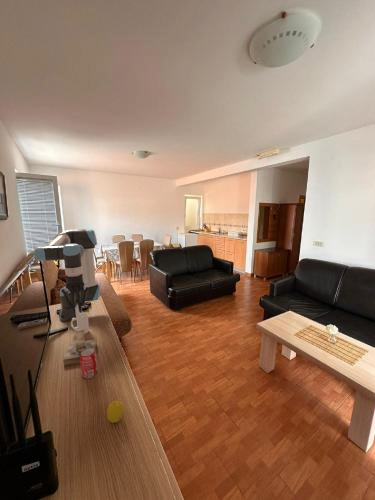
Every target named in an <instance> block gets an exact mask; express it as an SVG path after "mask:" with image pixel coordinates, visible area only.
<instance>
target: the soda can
mask: <svg viewBox="0 0 375 500" xmlns="http://www.w3.org/2000/svg"><path fill="white" fill-rule="evenodd" d="M79 366H80V373H81V374H80V375H81V377H82V378H84V379H91V378H93V377H94V376H96V375H97V373H98V357H97V352H95V350H94V348H86V349H84V350H83V351H82V352H81V355H80V363H79Z"/></svg>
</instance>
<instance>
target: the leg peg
mask: <svg viewBox="0 0 375 500" xmlns="http://www.w3.org/2000/svg"><path fill="white" fill-rule="evenodd" d="M74 334H75V343H76V346H77V350H78V352H80V351H83V350H84V349H85V341H86V340H85V334H84V329H78V330H74Z"/></svg>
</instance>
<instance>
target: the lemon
mask: <svg viewBox="0 0 375 500" xmlns="http://www.w3.org/2000/svg"><path fill="white" fill-rule="evenodd" d="M123 413H124V407H123V404H122V402H121V401H119V400H117V399H116V400H112V402H110V403H109V405H108V406H107V410H106V415H107V416H106V417H107V419H108V421H109V422H110V423H112V424H113V423H117V422H119V421H121V419H122V417H123V415H124V414H123Z"/></svg>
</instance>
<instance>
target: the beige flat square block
mask: <svg viewBox="0 0 375 500" xmlns="http://www.w3.org/2000/svg"><path fill="white" fill-rule="evenodd" d="M97 344H98V343H97V338H94V339H89V340H85V349H86V348H94V350H95V352H96V351H97V346H98V345H97ZM81 352H82V351H80V352H78V350H77V346H76V342H71V343H69V344H68V346H67V348H66V351H65V354H64V357H63V359H62V360H63V361H62V363H63V367H68V366H71V365H76V364H80V355H81ZM96 353H97V352H96Z"/></svg>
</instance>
